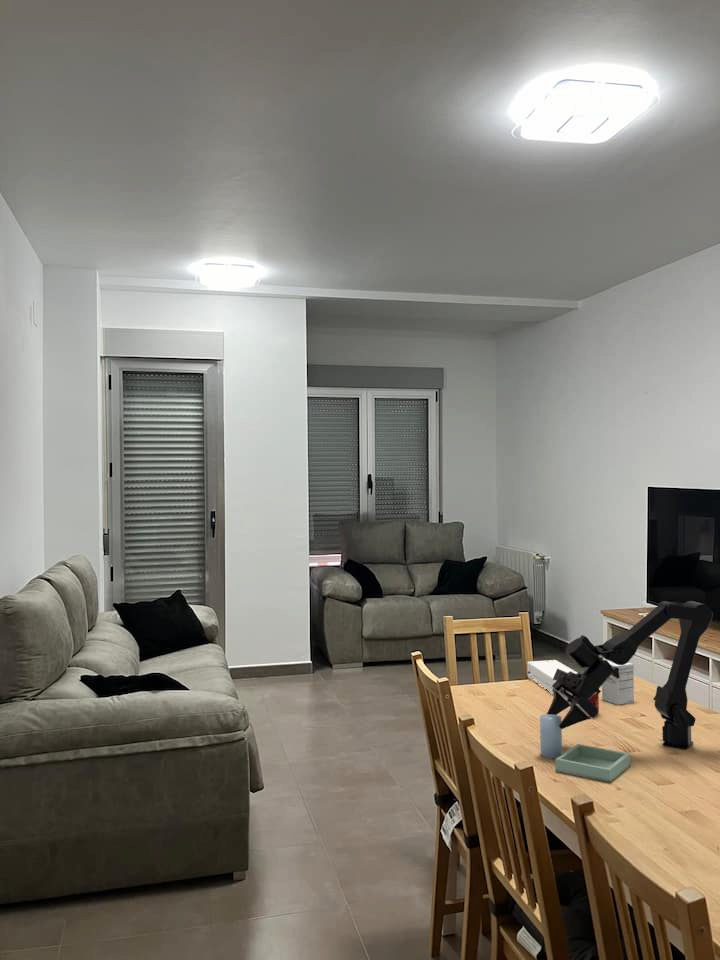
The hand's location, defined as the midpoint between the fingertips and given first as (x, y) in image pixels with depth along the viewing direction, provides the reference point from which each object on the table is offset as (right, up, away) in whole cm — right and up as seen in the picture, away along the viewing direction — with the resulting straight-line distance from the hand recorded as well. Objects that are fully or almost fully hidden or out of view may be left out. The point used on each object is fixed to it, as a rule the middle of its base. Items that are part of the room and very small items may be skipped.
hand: (553, 722), depth 222 cm
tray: (+8, -8, -11) cm, 16 cm away
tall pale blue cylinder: (-1, -9, 0) cm, 9 cm away
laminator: (+17, -8, +67) cm, 70 cm away
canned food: (+18, -8, +36) cm, 41 cm away
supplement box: (+32, -8, +49) cm, 59 cm away
